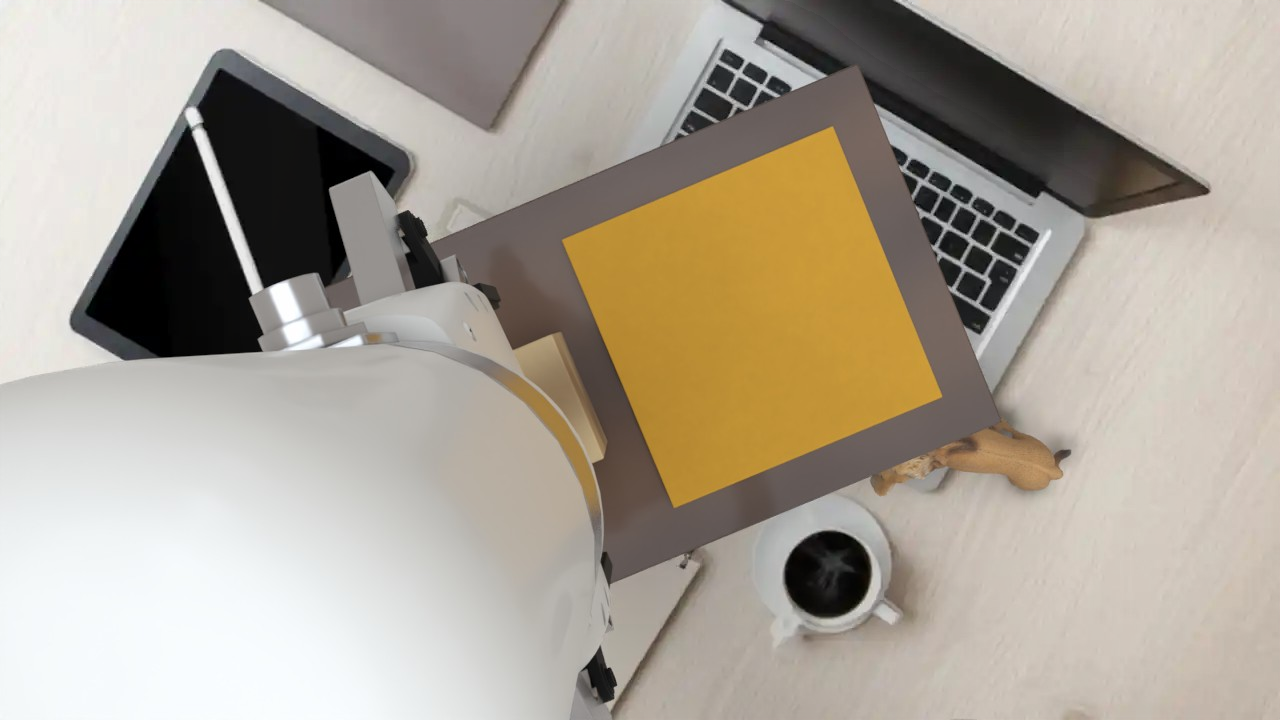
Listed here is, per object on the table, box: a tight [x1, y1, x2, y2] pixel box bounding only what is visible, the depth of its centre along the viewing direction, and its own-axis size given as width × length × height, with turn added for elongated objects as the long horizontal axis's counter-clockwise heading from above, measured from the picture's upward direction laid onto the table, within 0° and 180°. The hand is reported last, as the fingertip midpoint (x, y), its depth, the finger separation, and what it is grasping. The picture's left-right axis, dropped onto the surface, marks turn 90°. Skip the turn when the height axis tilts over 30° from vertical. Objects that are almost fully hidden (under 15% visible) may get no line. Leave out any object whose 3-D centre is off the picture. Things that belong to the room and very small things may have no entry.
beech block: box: [513, 332, 607, 463], centre depth 43 cm, size 5×5×5 cm
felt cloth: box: [562, 126, 942, 508], centre depth 45 cm, size 12×12×1 cm
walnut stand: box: [324, 63, 1002, 585], centre depth 58 cm, size 16×24×26 cm, turn 113°
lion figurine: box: [869, 417, 1072, 497], centre depth 67 cm, size 15×5×9 cm, turn 87°
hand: (512, 443), depth 38 cm, fingers open, 9 cm apart
